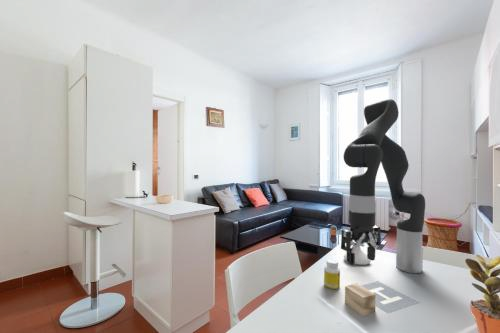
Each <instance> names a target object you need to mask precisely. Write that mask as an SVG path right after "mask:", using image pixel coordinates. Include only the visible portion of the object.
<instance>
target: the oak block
mask: <svg viewBox="0 0 500 333" xmlns="http://www.w3.org/2000/svg"><path fill="white" fill-rule="evenodd" d="M375 299H376V294H374V293H372V292H371V291H369V290H367V289H366V288H364V287H362V286H361V285H360V284H359V283H353V284H350V285H345V286H344V304H346V305H347V306H349V307H350V308H352V309H353V310H354V311H356V312H357V313H359V314H360V315H361V316H367V315H370V314H372V313H376V306H375Z"/></svg>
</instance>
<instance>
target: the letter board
mask: <svg viewBox="0 0 500 333" xmlns="http://www.w3.org/2000/svg"><path fill="white" fill-rule="evenodd" d="M360 286H362V287H364V288H366V289H367V290H369V291H371V292H372V293H374V294H376V299H375V307H377V308H379V309H380V310H381V311H384V312H385V313H387V314H391V313H393V312H396V311H399V310H402V309H405V308H409V307H410V306H413V305H416V304H420V302H419V301H418V300H417V299H414V298H412V297H410V296H407V295H406V294H404V293H402V292H401V291H398V290H397V289H395V288H393V287H391V286H389V285H386V284H384V283H383V282H380V281H379V280H377V281H374V282H369V283H365V284H361V285H360Z"/></svg>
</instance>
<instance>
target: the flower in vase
mask: <svg viewBox="0 0 500 333" xmlns="http://www.w3.org/2000/svg"><path fill="white" fill-rule="evenodd" d="M354 253H355V265H357V266H358V265H361V266H363V265H368V264H370V263H371V261H372V260H370V259H368V258H367V253H366V252H364V251H363V250H362V249H361V244H360V245H359V247H357V248H356V250H355V252H354ZM343 258H344V260H345V261H347V251H345V253H344V255H343Z"/></svg>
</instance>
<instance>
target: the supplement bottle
mask: <svg viewBox="0 0 500 333" xmlns="http://www.w3.org/2000/svg"><path fill="white" fill-rule="evenodd" d="M323 269H324V270H323V287H324V288H325V289H327V290H329V291H339V290H340V289H341V287H340V285H341V284H340V283H341V281H340V280H341V270H340V267H339V261H338V260H336V259H333V258H329V259H326V265H325V266H324V268H323Z"/></svg>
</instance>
